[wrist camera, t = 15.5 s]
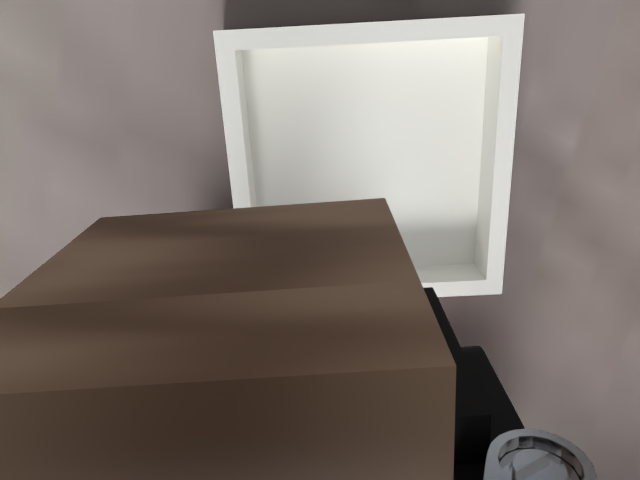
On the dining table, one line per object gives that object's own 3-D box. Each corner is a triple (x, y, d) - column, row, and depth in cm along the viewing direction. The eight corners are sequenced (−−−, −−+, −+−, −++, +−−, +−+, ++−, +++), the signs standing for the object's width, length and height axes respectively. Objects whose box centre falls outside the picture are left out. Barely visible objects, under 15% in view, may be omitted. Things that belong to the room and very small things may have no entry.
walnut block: (153, 443, 13) (30, 742, 8) (100, 217, 11) (-127, 402, 5) (391, 428, 13) (446, 723, 7) (384, 198, 11) (456, 366, 5)
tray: (250, 284, 28) (244, 306, 26) (223, 31, 23) (212, 30, 21) (486, 272, 28) (501, 294, 25) (503, 16, 23) (524, 13, 21)
